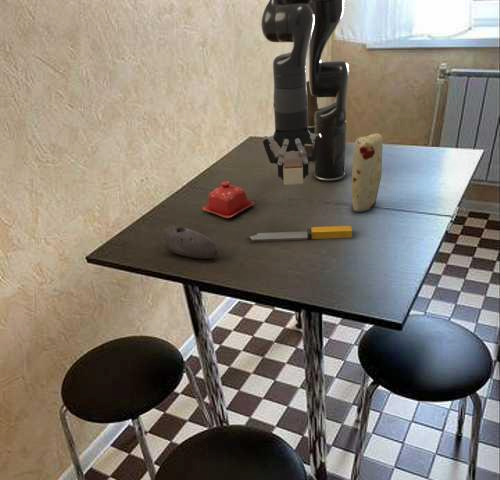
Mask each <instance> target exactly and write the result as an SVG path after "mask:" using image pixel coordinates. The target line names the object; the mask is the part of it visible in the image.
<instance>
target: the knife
mask: <svg viewBox="0 0 500 480" xmlns="http://www.w3.org/2000/svg"><path fill="white" fill-rule="evenodd" d="M351 238H353V228H352V225H336V226H335V225H334V226H332V225H331V226H311V227H308V228H307V231H281V232H275V231H274V232H257V233H256V234H254V235H251V236H249V240H250V241H251V242H252V243H255V242H257V243H259V242H282V241H285V242H286V241H308V240H321V239H322V240H323V239H324V240H325V239H326V240H327V239H351Z"/></svg>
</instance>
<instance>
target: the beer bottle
mask: <svg viewBox="0 0 500 480" xmlns="http://www.w3.org/2000/svg"><path fill="white" fill-rule="evenodd" d="M306 87H307V95H308V129H309V131H310V133H314V134H315V112H316V111H317V110H318V109H320V108H319V105H318V97H314V96H312V94H311V92H310V87H309V80H306ZM304 147H305V150H306V153H307V155H309V154H311V151H312V147H313V143H312V141H311V138H309V139H308V141H307V142H306V144H305V145H304Z"/></svg>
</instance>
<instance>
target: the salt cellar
mask: <svg viewBox="0 0 500 480" xmlns="http://www.w3.org/2000/svg"><path fill="white" fill-rule="evenodd" d="M302 161H303V160H302V158H301V156H300V157H299V156H298V157H284V159H283V162H284V165H283V176H284V179H283V185H284V186H287V185H304V178H303V164H302Z"/></svg>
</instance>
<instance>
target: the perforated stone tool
mask: <svg viewBox="0 0 500 480" xmlns="http://www.w3.org/2000/svg"><path fill="white" fill-rule="evenodd" d="M161 238H162V243H163V246H164V248H165V249H166V250H167V251H169V252H171V253H173V254H176V255H178V256H182V257H188V258H194V259H201V260H210V259H214V258H216V257H217V256H218V253H219V249H218V247H217V245H216V243H214V241H213V240H212V239H211V238H209V237H208V236H206V235H205V234H203V233H200V232H198V231H196V230H194V229H190V228H188V227H184V226H179V225H173V224H171V225H169V226H166V227H165V228H164V229H163V231H161Z"/></svg>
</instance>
